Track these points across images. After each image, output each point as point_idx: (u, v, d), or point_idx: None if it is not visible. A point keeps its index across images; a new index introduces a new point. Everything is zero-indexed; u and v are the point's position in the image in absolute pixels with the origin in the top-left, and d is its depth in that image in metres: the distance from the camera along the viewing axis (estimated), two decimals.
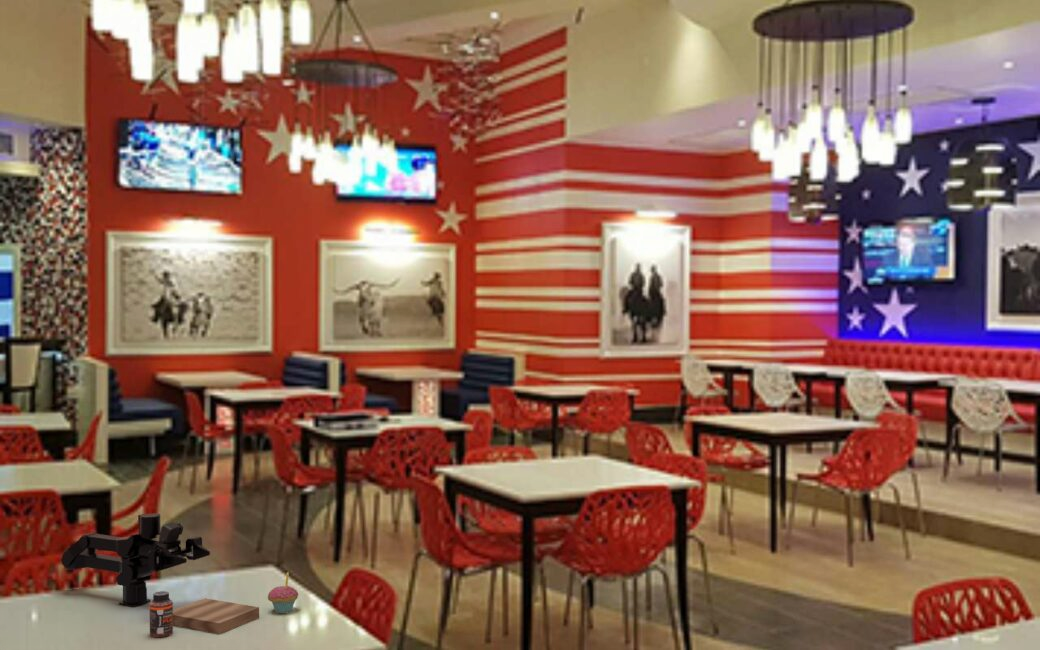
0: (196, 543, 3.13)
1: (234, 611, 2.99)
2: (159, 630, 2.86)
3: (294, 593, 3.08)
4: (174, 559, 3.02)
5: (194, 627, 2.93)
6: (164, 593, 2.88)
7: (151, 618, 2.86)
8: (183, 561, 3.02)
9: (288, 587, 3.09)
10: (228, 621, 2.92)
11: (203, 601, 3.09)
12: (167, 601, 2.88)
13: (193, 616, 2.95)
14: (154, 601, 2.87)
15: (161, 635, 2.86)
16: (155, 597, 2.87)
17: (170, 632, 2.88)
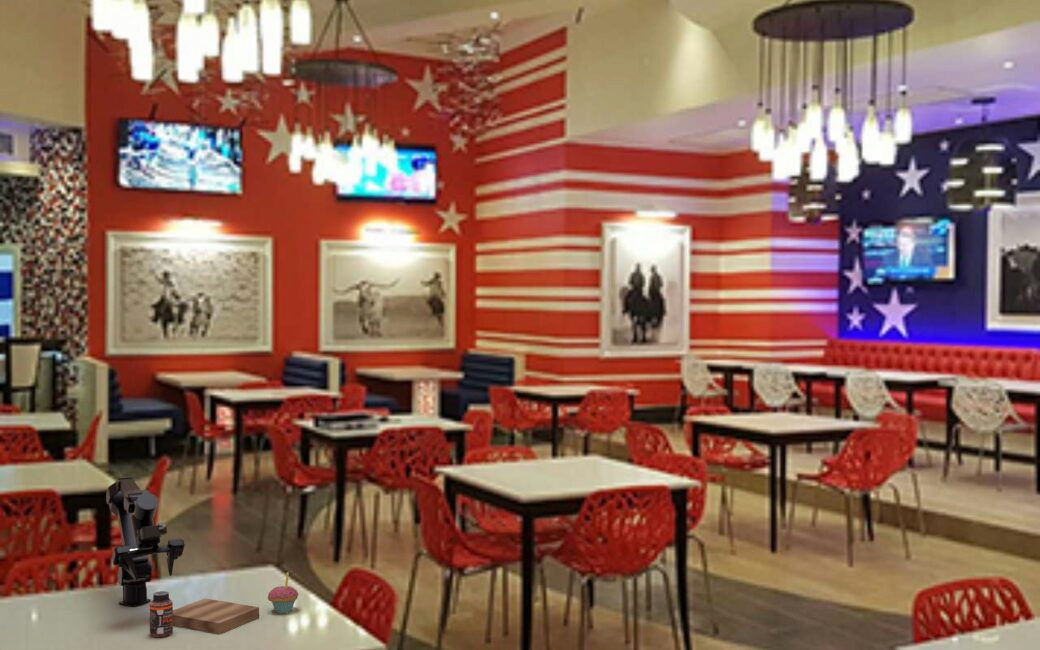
0: (171, 552, 3.00)
1: (234, 611, 2.99)
2: (159, 630, 2.86)
3: (294, 593, 3.08)
4: (130, 569, 2.94)
5: (194, 627, 2.93)
6: (164, 593, 2.88)
7: (151, 618, 2.86)
8: (134, 578, 2.93)
9: (288, 587, 3.09)
10: (228, 621, 2.92)
11: (203, 601, 3.09)
12: (167, 601, 2.88)
13: (193, 616, 2.95)
14: (154, 601, 2.87)
15: (161, 635, 2.86)
16: (155, 597, 2.87)
17: (170, 632, 2.88)
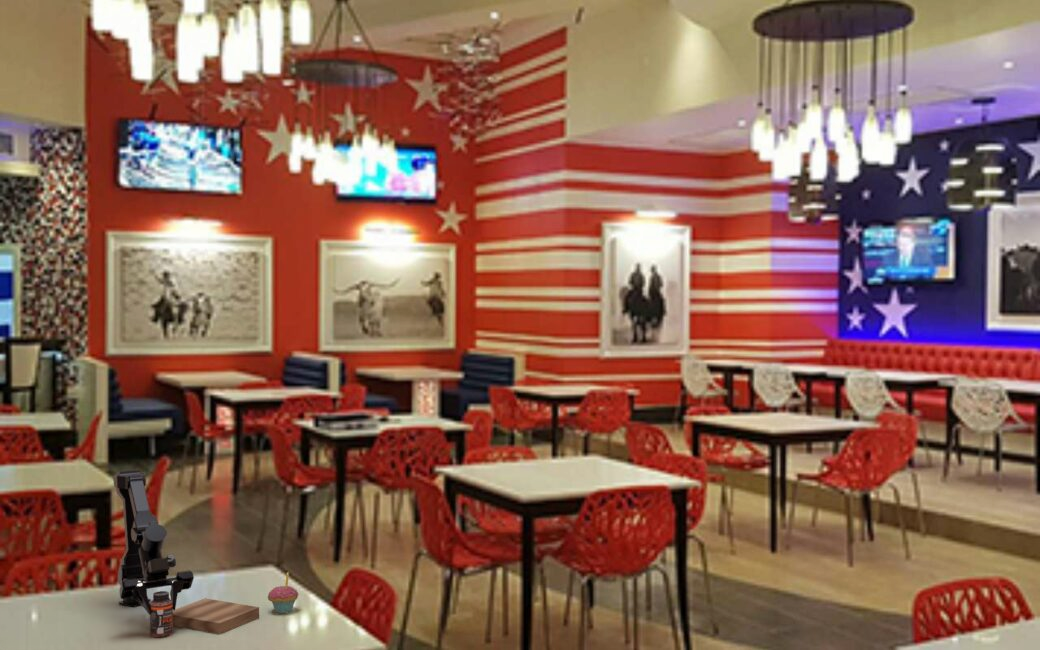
0: (175, 585, 2.92)
1: (234, 611, 2.99)
2: (159, 630, 2.86)
3: (294, 593, 3.08)
4: (144, 602, 2.87)
5: (194, 627, 2.93)
6: (164, 593, 2.88)
7: (151, 618, 2.86)
8: (148, 612, 2.86)
9: (288, 587, 3.09)
10: (228, 621, 2.92)
11: (203, 601, 3.09)
12: (167, 601, 2.88)
13: (193, 616, 2.95)
14: (154, 601, 2.87)
15: (161, 635, 2.86)
16: (155, 597, 2.87)
17: (170, 632, 2.88)
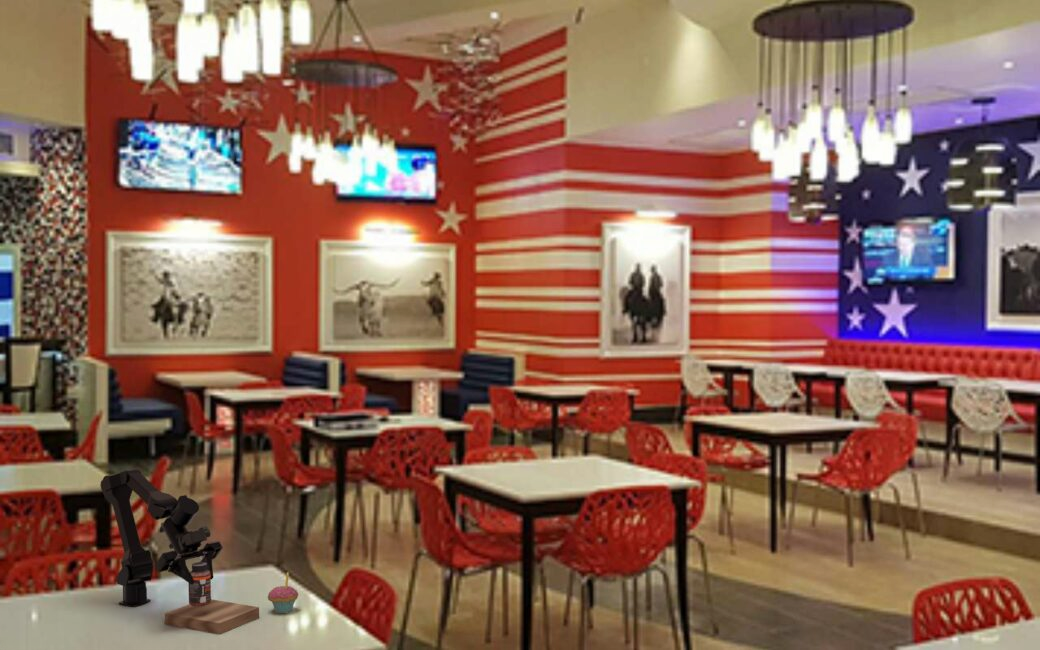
0: (209, 556, 3.01)
1: (234, 611, 2.99)
2: (202, 599, 2.95)
3: (294, 593, 3.08)
4: (184, 574, 2.95)
5: (194, 627, 2.93)
6: (203, 563, 2.97)
7: (193, 588, 2.95)
8: (190, 582, 2.94)
9: (288, 587, 3.09)
10: (228, 621, 2.92)
11: None
12: (207, 571, 2.97)
13: (193, 616, 2.95)
14: (195, 572, 2.96)
15: (204, 604, 2.96)
16: (196, 568, 2.96)
17: (210, 600, 2.98)
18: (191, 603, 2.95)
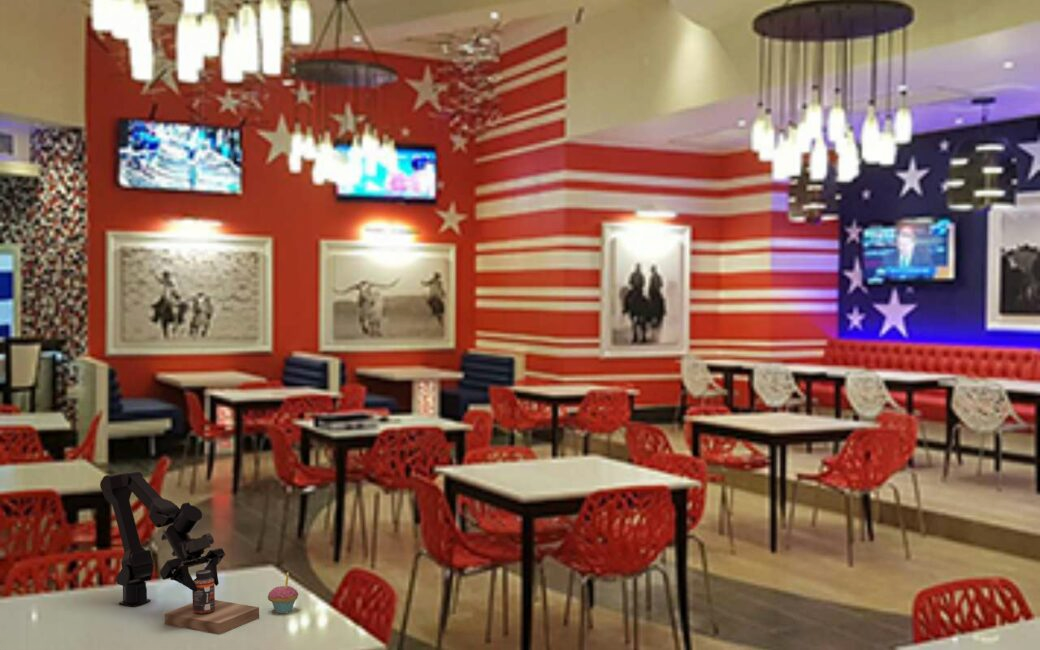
0: (213, 562, 3.03)
1: (234, 611, 2.99)
2: (206, 606, 2.97)
3: (294, 593, 3.08)
4: (187, 581, 2.95)
5: (194, 627, 2.93)
6: (207, 571, 2.99)
7: (197, 595, 2.96)
8: (193, 589, 2.95)
9: (288, 587, 3.09)
10: (228, 621, 2.92)
11: None
12: (211, 578, 2.99)
13: (193, 616, 2.95)
14: (199, 579, 2.97)
15: (208, 611, 2.97)
16: (200, 575, 2.97)
17: (214, 607, 3.00)
18: (195, 611, 2.97)
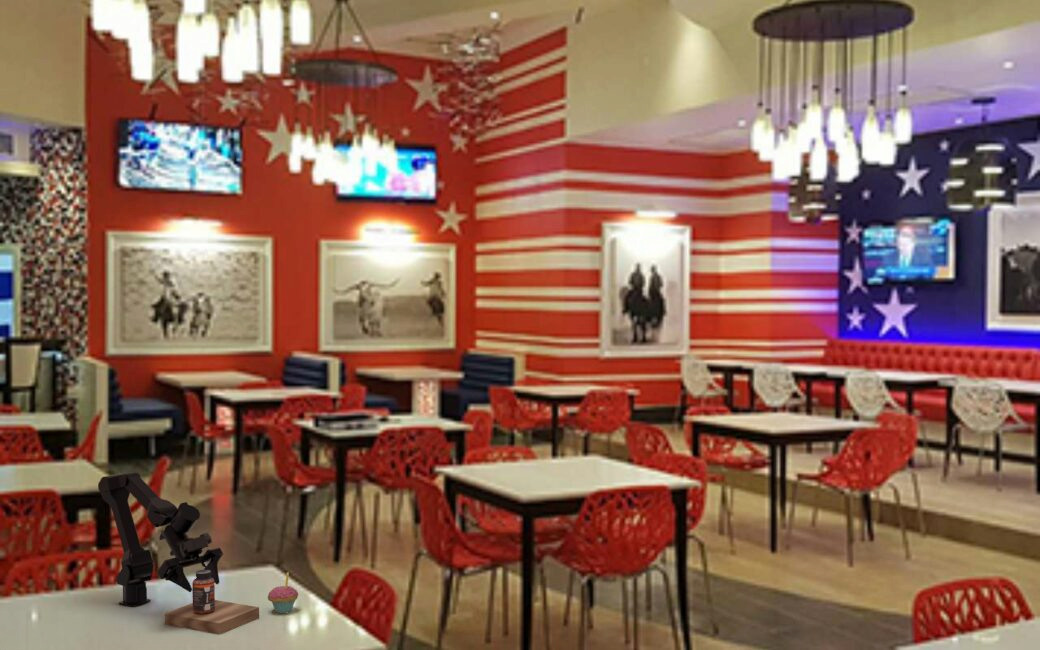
0: (214, 561, 3.04)
1: (234, 611, 2.99)
2: (206, 606, 2.97)
3: (294, 593, 3.08)
4: (182, 581, 2.95)
5: (194, 627, 2.93)
6: (207, 571, 2.99)
7: (197, 595, 2.96)
8: (188, 590, 2.95)
9: (288, 587, 3.09)
10: (228, 621, 2.92)
11: None
12: (211, 578, 2.99)
13: (193, 616, 2.95)
14: (199, 579, 2.97)
15: (208, 611, 2.97)
16: (200, 575, 2.97)
17: (214, 607, 3.00)
18: (195, 611, 2.97)
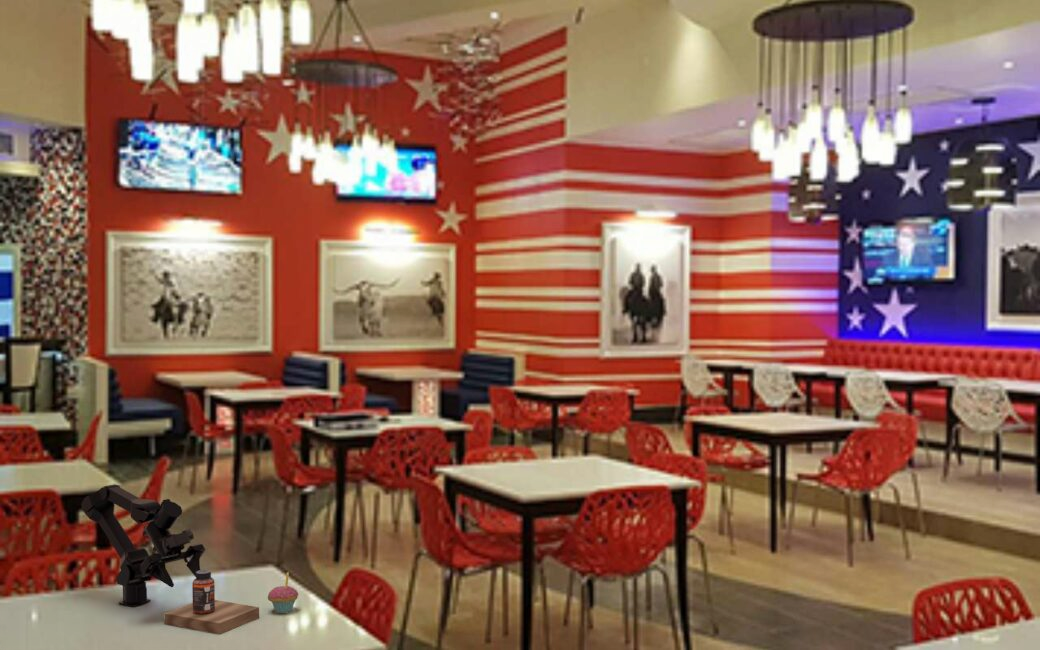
0: (196, 557, 3.09)
1: (234, 611, 2.99)
2: (206, 606, 2.97)
3: (294, 593, 3.08)
4: (164, 577, 3.00)
5: (194, 627, 2.93)
6: (207, 571, 2.99)
7: (197, 595, 2.96)
8: (170, 585, 3.00)
9: (288, 587, 3.09)
10: (228, 621, 2.92)
11: None
12: (211, 578, 2.99)
13: (193, 616, 2.95)
14: (199, 579, 2.97)
15: (208, 611, 2.97)
16: (200, 575, 2.97)
17: (214, 608, 3.00)
18: (195, 611, 2.97)
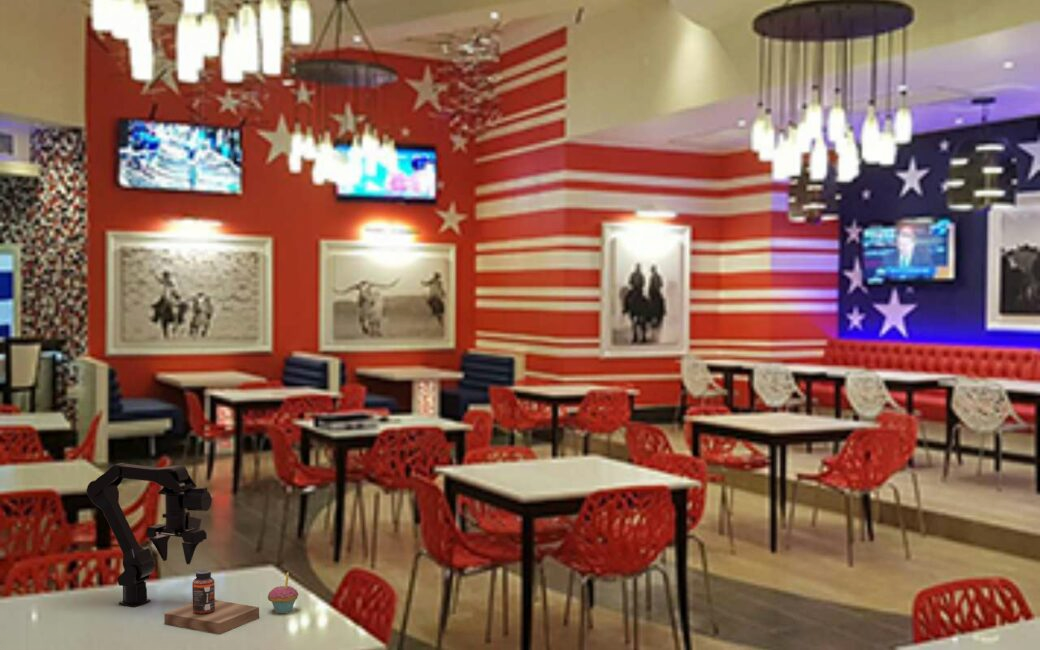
0: None
1: (234, 611, 2.99)
2: (206, 606, 2.97)
3: (294, 593, 3.08)
4: (191, 553, 3.12)
5: (194, 627, 2.93)
6: (207, 571, 2.99)
7: (197, 595, 2.96)
8: (188, 562, 3.12)
9: (288, 587, 3.09)
10: (228, 621, 2.92)
11: None
12: (211, 578, 2.99)
13: (193, 616, 2.95)
14: (199, 579, 2.97)
15: (208, 611, 2.97)
16: (200, 575, 2.97)
17: (214, 608, 3.00)
18: (195, 611, 2.97)
